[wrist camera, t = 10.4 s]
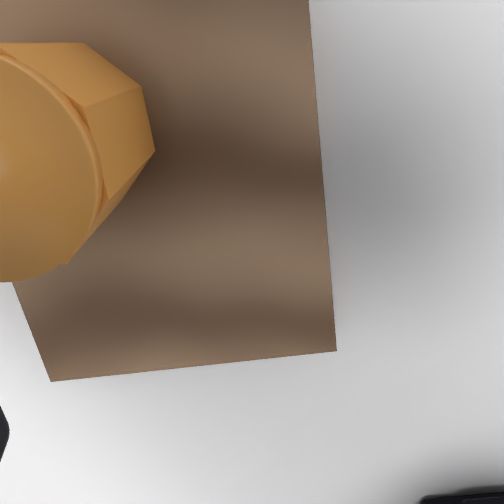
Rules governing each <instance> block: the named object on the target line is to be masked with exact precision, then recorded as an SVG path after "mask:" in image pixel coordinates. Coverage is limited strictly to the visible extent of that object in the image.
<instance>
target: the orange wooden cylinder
mask: <svg viewBox="0 0 504 504" xmlns="http://www.w3.org/2000/svg"><path fill="white" fill-rule="evenodd" d="M154 152H155V147H154V142H153V138H152V133H151V128H150V124H149V119H148V115H147V110H146V106H145V101H144V96H143V92H142V87H141V85H139V84H138V83H137V82H135V81H134V80H133V79H131V78H130V77H129V76H127V75H126V74H125V73H123V72H122V71H121V70H119V69H118V68H117V67H115V66H114V65H113V64H111V63H110V62H109V61H107V60H106V59H105V58H103V57H102V56H101V55H99V54H98V53H97V52H95V51H94V50H93V49H91V48H90V47H89V46H87V45H86V44H85V43H0V282H15V281H21V280H26V279H30V278H33V277H36V276H39V275H42V274H44V273H46V272H48V271H50V270H52V269H54V268H55V267H57V266H58V265H60V264H67V263H68V262H69V261H70V259H71V258H72V257H73V256H74V255H75V254H76V252H77V251H78V250H79V249H80V248H81V247H82V245H83V244H84V243H85V242H86V241H87V240H88V239H89V237H90V236H91V235H92V234H93V233H94V232H95V230H96V229H97V228H98V227H99V226H100V225H101V223H102V222H103V221H104V220H105V219H106V218H107V217H108V215H109V214H110V213H111V212H112V211H113V210H114V208H115V207H116V206H117V205H118V204H119V203H120V201H121V200H122V199H123V198H124V196H125V195H126V193H127V192H128V190H129V189H130V187H131V186H132V184H133V183H134V181H135V180H136V178H137V177H138V175H139V174H140V172H141V171H142V169H143V168H144V167H145V165H146V164H147V162H148V161H149V159H150V158H151V156H152V155H153V153H154Z"/></svg>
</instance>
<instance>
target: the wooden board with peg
mask: <svg viewBox="0 0 504 504" xmlns="http://www.w3.org/2000/svg"><path fill="white" fill-rule="evenodd" d="M0 43H85V44H86V45H87V46H89V47H90V48H91V49H93V50H94V51H95V52H97V53H98V54H99V55H101V56H102V57H103V58H105V59H106V60H107V61H109V62H110V63H111V64H113V65H114V66H115V67H117V68H118V69H119V70H121V71H122V72H123V73H125V74H126V75H127V76H129V77H130V78H131V79H133V80H134V81H135V82H137V83H138V84H139V85H141V87H142V92H143V96H144V101H145V106H146V110H147V115H148V119H149V124H150V128H151V133H152V138H153V142H154V147H155V152H154V153H153V155H152V156H151V158H150V159H149V161H148V162H147V164H146V165H145V167H144V168H143V169H142V171H141V172H140V174H139V175H138V177H137V178H136V180H135V181H134V183H133V184H132V186H131V187H130V189H129V190H128V192H127V193H126V195H125V196H124V198H123V199H122V200H121V201H120V203H119V204H118V205H117V206H116V207H115V208H114V210H113V211H112V212H111V213H110V214H109V215H108V217H107V218H106V219H105V220H104V221H103V222H102V223H101V225H100V226H99V227H98V228H97V229H96V230H95V232H94V233H93V234H92V235H91V236H90V237H89V239H88V240H87V241H86V242H85V243H84V244H83V245H82V247H81V248H80V249H79V250H78V251H77V252H76V254H75V255H74V256H73V257H72V258H71V259H70V261H69V262H68V263H67V264H60V265H58V266H57V267H55V268H54V269H52V270H50V271H48V272H46V273H44V274H42V275H39V276H36V277H33V278H30V279H26V280H21V281H15V282H12V283H13V286H14V288H15V291H16V293H17V296H18V299H19V301H20V304H21V306H22V309H23V311H24V314H25V317H26V319H27V322H28V324H29V327H30V329H31V332H32V335H33V337H34V340H35V342H36V345H37V347H38V350H39V353H40V355H41V358H42V360H43V363H44V366H45V368H46V371H47V373H48V376H49V378H50V381H51V382H54V381H64V380H73V379H82V378H91V377H101V376H110V375H119V374H129V373H138V372H147V371H156V370H166V369H175V368H184V367H193V366H203V365H212V364H221V363H231V362H240V361H249V360H258V359H268V358H277V357H286V356H296V355H305V354H314V353H323V352H333V351H337V348H336V335H335V323H334V311H333V299H332V286H331V274H330V262H329V249H328V237H327V225H326V212H325V200H324V188H323V176H322V163H321V151H320V139H319V126H318V114H317V102H316V89H315V77H314V65H313V52H312V40H311V28H310V16H309V3H308V0H0Z"/></svg>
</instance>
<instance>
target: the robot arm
mask: <svg viewBox="0 0 504 504" xmlns="http://www.w3.org/2000/svg"><path fill="white" fill-rule="evenodd" d="M8 439H9V424H8V422H7V420H6V417H5V415H4V413H3V411H2V409H1V406H0V461H1V458H2V456H3V453H4V450H5V447H6V445H7V442H8ZM421 504H504V493H492V494H481V495H469V496H457V497H446V498H434V499H427V500H425V501H423V502H422V503H421Z"/></svg>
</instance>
